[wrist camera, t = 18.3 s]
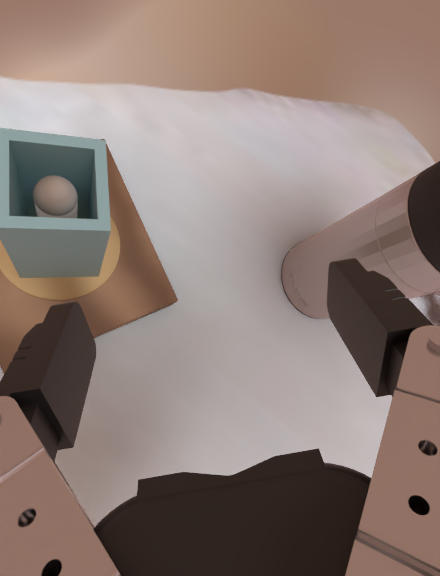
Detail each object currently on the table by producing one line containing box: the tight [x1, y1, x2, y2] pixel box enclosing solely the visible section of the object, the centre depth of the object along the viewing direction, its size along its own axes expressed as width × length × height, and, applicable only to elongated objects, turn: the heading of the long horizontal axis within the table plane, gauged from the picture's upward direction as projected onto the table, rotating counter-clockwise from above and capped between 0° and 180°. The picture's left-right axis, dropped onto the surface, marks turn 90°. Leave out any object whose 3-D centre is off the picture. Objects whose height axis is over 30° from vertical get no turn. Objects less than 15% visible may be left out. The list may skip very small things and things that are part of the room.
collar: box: [0, 128, 111, 278], centre depth 26 cm, size 6×6×11 cm
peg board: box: [0, 139, 178, 374], centre depth 28 cm, size 15×17×12 cm
